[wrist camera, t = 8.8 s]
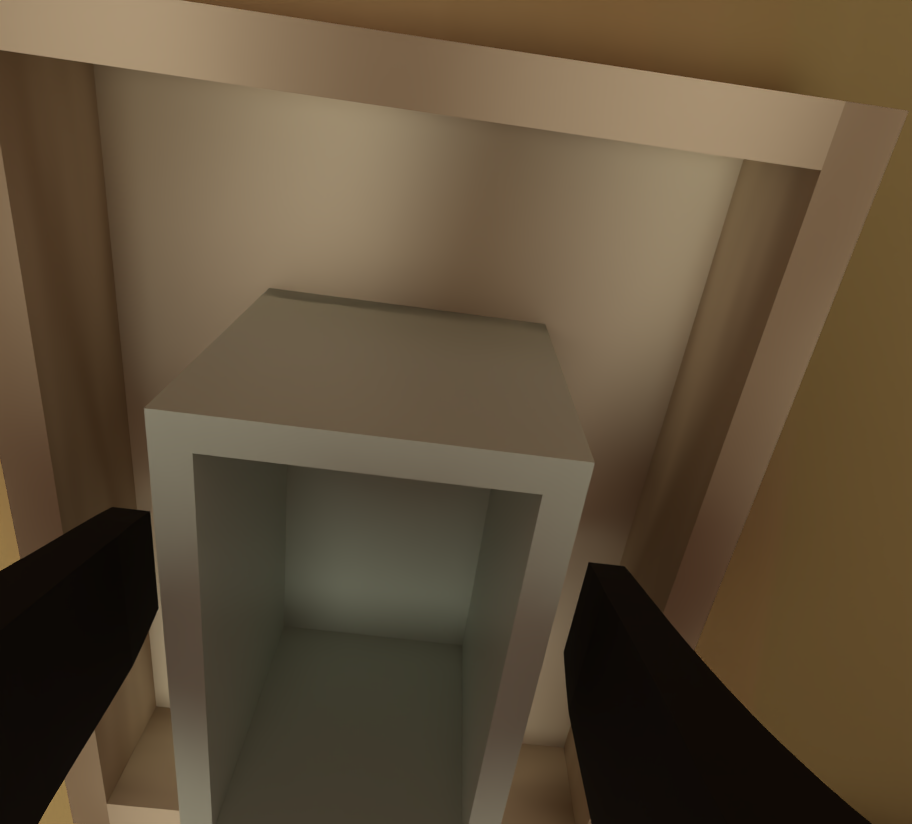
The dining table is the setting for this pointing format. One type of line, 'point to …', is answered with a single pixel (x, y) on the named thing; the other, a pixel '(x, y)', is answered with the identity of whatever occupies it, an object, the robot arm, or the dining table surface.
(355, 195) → the big crate
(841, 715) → the dining table surface
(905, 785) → the dining table surface
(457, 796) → the small crate
